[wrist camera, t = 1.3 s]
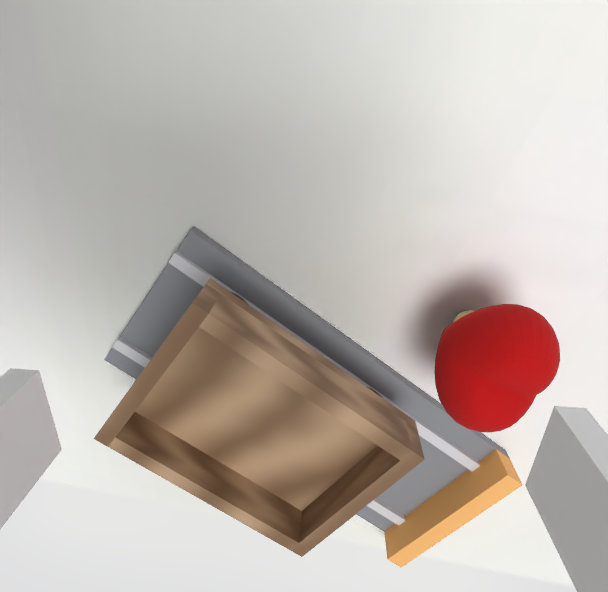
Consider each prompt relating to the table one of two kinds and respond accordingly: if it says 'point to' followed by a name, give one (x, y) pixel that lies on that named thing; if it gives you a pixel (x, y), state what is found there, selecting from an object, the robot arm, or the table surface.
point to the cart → (261, 424)
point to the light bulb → (494, 365)
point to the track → (360, 365)
